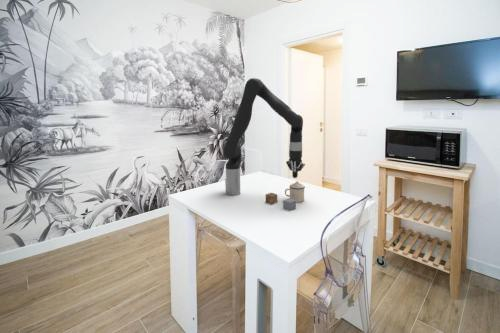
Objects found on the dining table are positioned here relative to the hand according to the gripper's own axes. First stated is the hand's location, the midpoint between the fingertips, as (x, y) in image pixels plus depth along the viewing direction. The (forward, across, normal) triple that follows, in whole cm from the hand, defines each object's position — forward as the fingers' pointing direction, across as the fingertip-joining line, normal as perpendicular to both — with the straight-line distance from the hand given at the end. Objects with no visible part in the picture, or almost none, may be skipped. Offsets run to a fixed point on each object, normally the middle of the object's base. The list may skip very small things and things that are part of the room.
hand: (294, 177), depth 163 cm
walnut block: (+14, -7, -13) cm, 20 cm away
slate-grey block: (+14, +7, -13) cm, 21 cm away
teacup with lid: (+14, 0, 0) cm, 14 cm away
